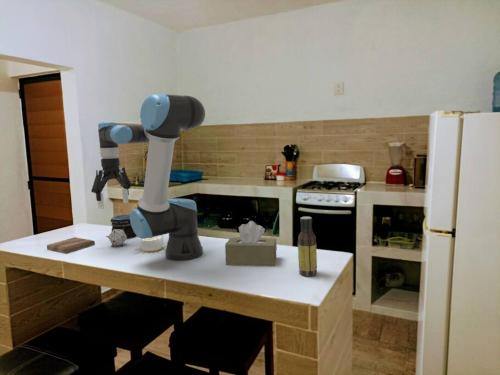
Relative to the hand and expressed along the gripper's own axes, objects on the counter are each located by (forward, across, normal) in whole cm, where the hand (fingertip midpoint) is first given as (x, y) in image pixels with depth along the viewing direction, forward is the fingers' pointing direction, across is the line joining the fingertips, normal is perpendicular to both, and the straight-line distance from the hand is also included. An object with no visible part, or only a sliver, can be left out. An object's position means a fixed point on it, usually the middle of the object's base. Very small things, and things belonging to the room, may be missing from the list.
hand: (114, 205), depth 166 cm
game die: (+19, 0, 0) cm, 19 cm away
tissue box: (+19, -8, +65) cm, 68 cm away
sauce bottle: (+19, -4, +89) cm, 91 cm away
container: (+19, -14, -10) cm, 25 cm away
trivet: (+18, +10, -18) cm, 28 cm away
